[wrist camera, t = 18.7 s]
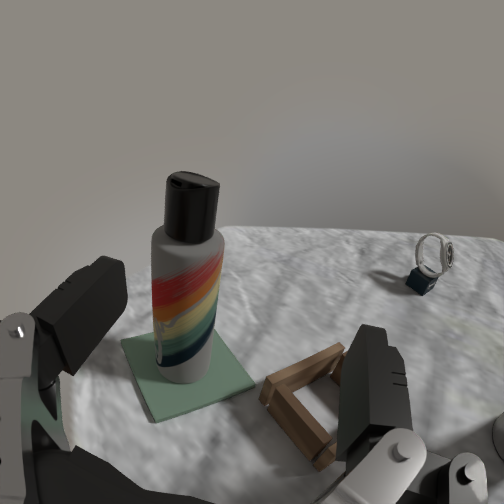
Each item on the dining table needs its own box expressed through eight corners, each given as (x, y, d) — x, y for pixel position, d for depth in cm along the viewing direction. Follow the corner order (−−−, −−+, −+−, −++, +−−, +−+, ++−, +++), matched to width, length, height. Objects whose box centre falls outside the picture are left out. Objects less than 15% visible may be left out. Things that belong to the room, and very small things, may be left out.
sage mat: (206, 321, 38) (206, 318, 38) (254, 387, 31) (255, 383, 30) (121, 343, 32) (120, 339, 32) (156, 423, 25) (155, 420, 24)
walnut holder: (327, 365, 35) (339, 342, 33) (384, 421, 28) (402, 401, 26) (258, 399, 29) (266, 376, 27) (319, 472, 23) (335, 456, 21)
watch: (430, 301, 50) (455, 249, 45) (398, 278, 55) (419, 227, 50) (440, 293, 53) (463, 244, 48) (410, 272, 59) (430, 224, 53)
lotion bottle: (146, 358, 31) (139, 168, 21) (187, 337, 35) (201, 161, 25) (177, 394, 28) (183, 193, 18) (220, 368, 31) (251, 182, 22)
